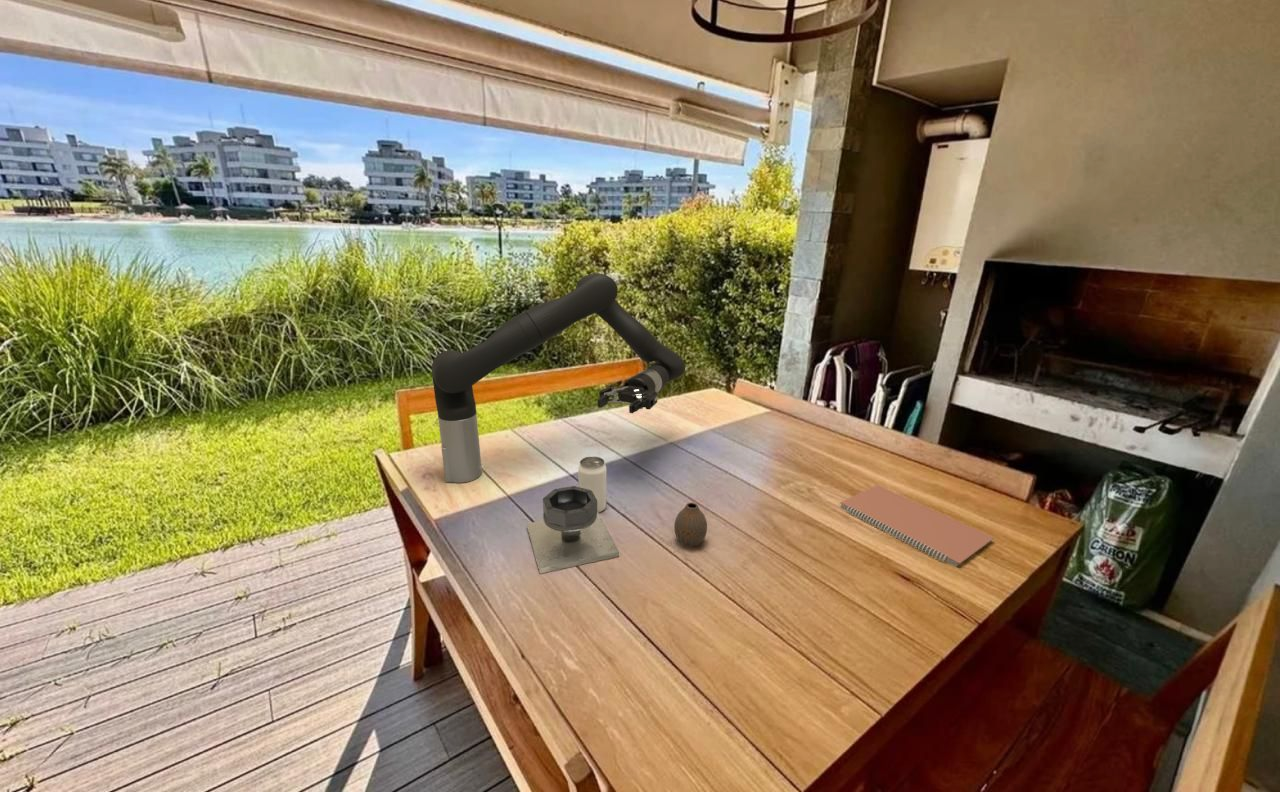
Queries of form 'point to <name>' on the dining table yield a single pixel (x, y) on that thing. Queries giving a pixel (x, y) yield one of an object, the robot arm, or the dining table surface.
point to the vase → (690, 525)
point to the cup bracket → (570, 531)
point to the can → (594, 479)
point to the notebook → (917, 525)
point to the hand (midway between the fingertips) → (614, 406)
